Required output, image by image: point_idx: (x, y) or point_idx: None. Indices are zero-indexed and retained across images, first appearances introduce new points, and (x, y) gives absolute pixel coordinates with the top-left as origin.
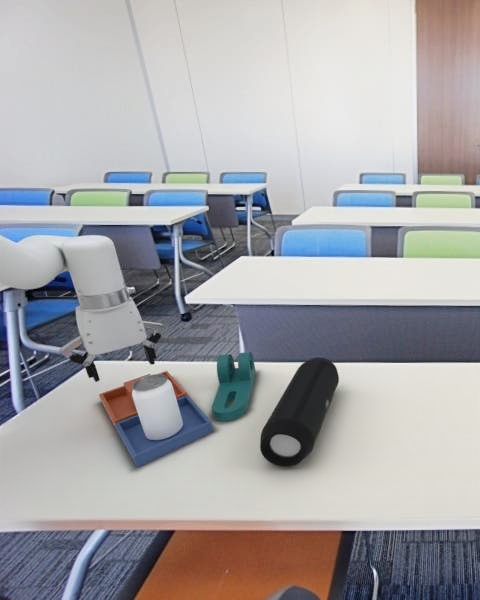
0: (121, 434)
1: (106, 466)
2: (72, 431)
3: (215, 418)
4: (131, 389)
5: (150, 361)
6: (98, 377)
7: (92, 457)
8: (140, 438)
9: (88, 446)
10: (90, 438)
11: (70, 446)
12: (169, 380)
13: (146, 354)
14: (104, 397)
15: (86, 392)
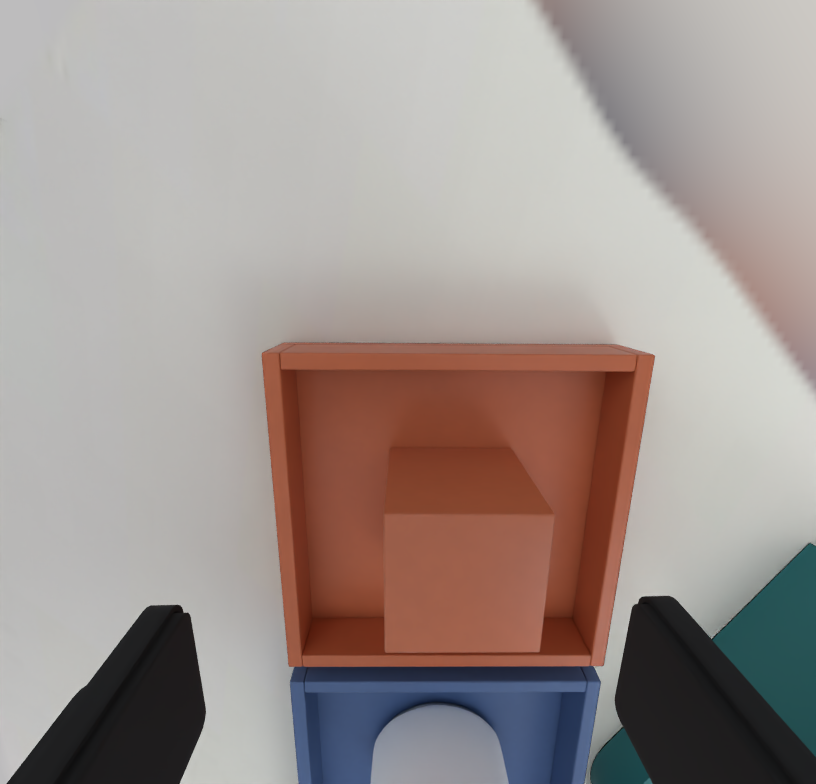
0: (298, 762)
1: (245, 765)
2: (154, 497)
3: (592, 778)
4: (402, 631)
5: (638, 751)
6: (184, 759)
7: (212, 701)
8: (357, 731)
9: (204, 636)
10: (213, 594)
11: (148, 593)
12: (609, 427)
13: (687, 726)
14: (283, 417)
15: (223, 128)
